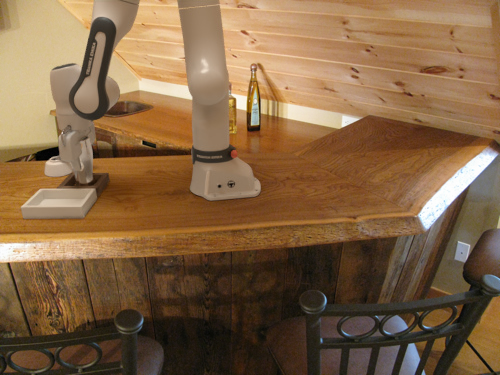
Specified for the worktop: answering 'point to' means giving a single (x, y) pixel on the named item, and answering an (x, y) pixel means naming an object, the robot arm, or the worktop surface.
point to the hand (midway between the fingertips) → (82, 165)
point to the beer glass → (85, 165)
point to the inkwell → (58, 167)
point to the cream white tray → (59, 203)
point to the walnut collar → (100, 185)
